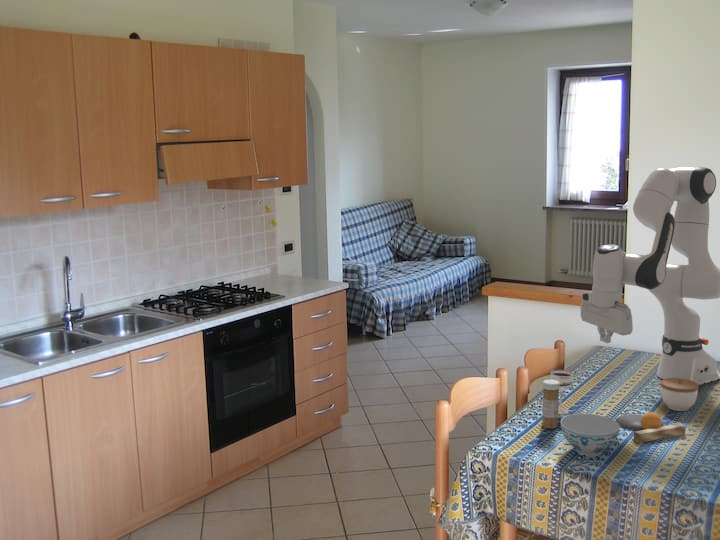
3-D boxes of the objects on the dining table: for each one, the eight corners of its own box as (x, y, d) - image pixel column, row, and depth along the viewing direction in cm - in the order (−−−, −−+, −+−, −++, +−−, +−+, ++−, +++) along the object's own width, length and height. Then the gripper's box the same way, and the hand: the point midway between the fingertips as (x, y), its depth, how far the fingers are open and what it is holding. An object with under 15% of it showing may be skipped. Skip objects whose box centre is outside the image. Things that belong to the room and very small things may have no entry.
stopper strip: (679, 431, 217) (680, 423, 217) (684, 434, 215) (685, 425, 215) (633, 440, 212) (634, 431, 211) (638, 442, 210) (639, 434, 209)
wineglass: (575, 410, 234) (577, 372, 232) (564, 416, 229) (566, 378, 227) (555, 405, 239) (557, 368, 237) (544, 411, 234) (545, 373, 232)
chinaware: (606, 439, 212) (608, 413, 211) (627, 462, 197) (628, 434, 196) (552, 441, 212) (553, 414, 210) (569, 464, 197) (570, 435, 196)
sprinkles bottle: (550, 422, 225) (552, 377, 223) (561, 427, 221) (563, 382, 219) (538, 424, 223) (539, 380, 221) (548, 430, 219) (550, 384, 217)
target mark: (641, 412, 232) (641, 412, 232) (673, 427, 220) (673, 427, 220) (605, 418, 228) (605, 418, 227) (636, 434, 216) (636, 433, 216)
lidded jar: (700, 414, 230) (702, 384, 229) (662, 412, 232) (664, 382, 231) (692, 402, 241) (694, 373, 239) (656, 400, 243) (658, 371, 241)
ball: (655, 406, 219) (667, 419, 214) (651, 420, 222) (663, 433, 217) (638, 410, 217) (650, 423, 213) (635, 424, 220) (646, 438, 216)
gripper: (638, 304, 228) (636, 349, 230) (593, 290, 246) (592, 332, 249) (621, 307, 225) (619, 352, 228) (577, 292, 244) (576, 334, 247)
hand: (605, 341), depth 239 cm, fingers closed
